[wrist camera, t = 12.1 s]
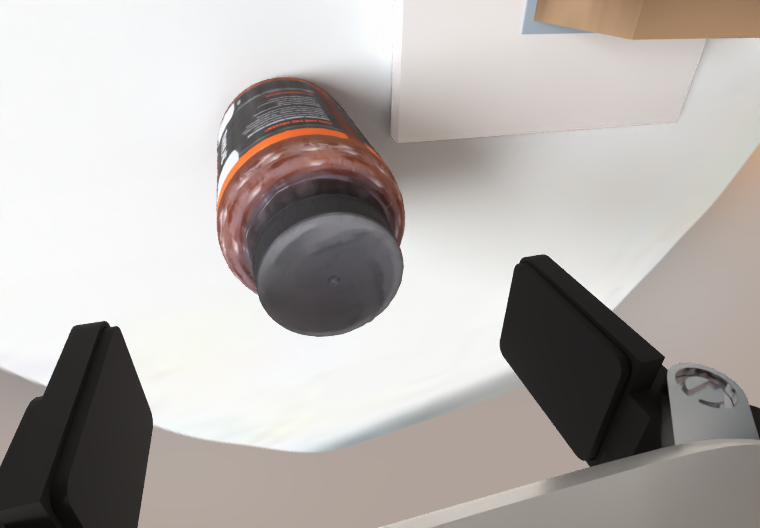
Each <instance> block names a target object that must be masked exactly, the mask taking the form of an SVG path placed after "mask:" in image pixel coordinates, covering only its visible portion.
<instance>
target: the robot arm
mask: <svg viewBox="0 0 760 528" xmlns="http://www.w3.org/2000/svg"><path fill="white" fill-rule="evenodd" d="M500 350H501V353H502V355H503V357H504V358H505V359H506V361H507V362H508V363H509V365H510V366H511V367H512V369H513V370H514V372H515V373H516V374H517V376H518V377H519V378H520V380H521V381H522V382H523V384H524V385H525V387H526V388H527V389H528V391H529V392H530V393H531V395H532V396H533V397H534V399H535V400H536V401H537V403H538V404H539V405H540V407H541V408H542V410H543V411H544V412H545V414H546V415H547V416H548V418H549V419H550V420H551V422H552V423H553V425H554V426H555V427H556V429H557V430H558V431H559V433H560V434H561V435H562V437H563V438H564V439H565V441H566V442H567V444H568V445H569V446H570V448H571V449H572V450H573V452H574V453H575V454H576V456H577V457H578V458H580V459H581V460H585V461H586V462H587V463H588V465H589V466H590V467H589V468H586V469H582V470H578V471H575V472H571V473H568V474H564V475H561V476H557V477H553V478H550V479H546V480H543V481H539V482H536V483H533V484H529V485H525V486H522V487H518V488H514V489H511V490H507V491H504V492H501V493H497V494H493V495H490V496H486V497H483V498H479V499H476V500H472V501H469V502H465V503H462V504H459V505H455V506H452V507H448V508H445V509H441V510H438V511H434V512H431V513H427V514H424V515H420V516H417V517H413V518H410V519H407V520H403V521H400V522H396V523H393V524H389V525H386V526H382V527H379V528H760V408H757V407H755V406H751V405H749V403H748V400H747V397H746V395H745V393H744V392H743V390H742V389H741V388H740V387H739V386H738V384H736V382H734V381H733V380H732V379H730V378H729V377H728V376H726V375H725V374H723V373H721V372H719V371H717V370H715V369H713V368H710V367H707V366H704V365H701V364H695V363H678V364H675V365H672V366H671V367H670V369H668V370H667V369H666V368H665V367H664V366H663V365H662V362H663V360H664V358H665V357H664V356H663V355H662V354H661V353H660V352H658V351H657V350H656V349H655V348H654V347H653V346H651V345H650V344H649V343H648V342H647V341H646V340H644V339H643V338H642V337H641V336H640V335H639V334H638V333H636V332H635V331H634V330H633V329H632V328H631V327H629V326H628V325H627V324H626V323H625V322H624V321H623V320H621V319H620V318H619V317H618V316H617V315H616V314H614V313H613V312H612V311H611V310H610V309H609V308H607V307H606V306H605V305H604V304H603V303H602V302H601V301H599V300H598V299H597V298H596V297H595V296H594V295H592V294H591V293H590V292H589V291H588V290H587V289H585V288H584V287H583V286H582V285H581V284H580V283H579V282H577V281H576V280H575V279H574V278H573V277H572V276H570V275H569V274H568V273H567V272H566V271H565V270H564V269H562V268H561V267H560V266H559V265H558V264H557V263H555V262H554V261H553V260H552V259H551V258H550V257H548V256H547V255H536V256H530V257H524V258H522V259H521V261H520V263H519V264H517V265H516V266H515V268H514V273H513V278H512V283H511V288H510V293H509V298H508V303H507V308H506V313H505V318H504V323H503V328H502V333H501V338H500ZM152 429H153V419H152V413H151V410H150V408H149V405H148V402H147V399H146V397H145V394H144V391H143V389H142V386H141V383H140V381H139V378H138V375H137V373H136V370H135V367H134V365H133V362H132V359H131V357H130V354H129V351H128V349H127V346H126V343H125V340H124V338H123V335H122V332H121V330H120V328H119V327H117V326H115V327H110V325H109V324H108V323H107V322H106V321H102V322H95V323H89V324H82V325H76V326H74V327H73V328H72V330H71V332H70V334H69V337H68V339H67V341H66V344H65V346H64V348H63V351H62V353H61V355H60V358H59V360H58V362H57V365H56V367H55V369H54V372H53V374H52V376H51V379H50V381H49V383H48V386H47V388H46V390H45V393H44V395H43V396H41V397H36V398H35V399H33V400H32V401H31V402H30V404H29V405H28V407H27V409H26V411H25V413H24V416H23V418H22V420H21V422H20V425H19V427H18V429H17V431H16V433H15V436H14V438H13V440H12V442H11V444H10V447H9V449H8V451H7V453H6V455H5V458H4V460H3V462H2V464H1V466H0V528H137V527H138V520H139V514H140V507H141V501H142V494H143V488H144V481H145V475H146V468H147V462H148V455H149V449H150V442H151V436H152Z"/></svg>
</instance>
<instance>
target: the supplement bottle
mask: <svg viewBox="0 0 760 528" xmlns="http://www.w3.org/2000/svg"><path fill="white" fill-rule="evenodd" d="M217 153H218V156H217V163H218V164H217V166H218V167H217V169H218V176H217V231H218V239H219V244H220V247H221V250H222V253H223V256H224V258H225V260H226V262H227V264H228V266H229V268H230V269H231V271H232V272H233V274H234V275H235V276H236V277H237V278H238V279H239V280H240V281H241V282H242V283H243V284H244V285H245V286H246V287H248V288H249V289H251V290H252V291H253V292H254V293H256V294H258V296H259V299H260V302H261V304H262V306H263V308H264V309H265V311H266V312H267V313H268V315H269V316H270V317H271V318H272V319H273V320H274V321H275V322H277V323H278V324H279V325H281V326H283V327H284V328H286V329H288V330H290V331H292V332H295V333H298V334H302V335H308V336H316V337H323V336H334V335H340V334H344V333H347V332H350V331H352V330H354V329H356V328H359V327H361V326H363V325H365V324H366V323H368V322H371V321H372V320H373V319H374V318H375V317H376V316H378V315H379V314H380V313H382V312H383V311H384V310H385V309H386V308H387V307H388V305H389V303H390V302H391V301H392V299H393V298H394V296H395V295H396V293H397V291H398V288H399V286H400V284H401V281H402V274H403V267H404V266H403V257H402V253H401V249H400V247H399V246H400V244H401V240H402V237H403V233H404V226H405V211H404V204H403V198H402V195H401V192H400V190H399V187H398V185H397V183H396V181H395V178H394V177H393V175H392V173H391V171H390V170H389V168H388V167H387V165H386V164H385V163H384V162H383V160H382V159H381V157H380V156H379V154H378V153H377V152H376V151H375V150H374V148H373V147H372V146H371V145H370V143H369V142H368V141H367V139H366V138H365V137H364V136H363V134H362V133H361V132H360V131H359V129H358V128H357V126H356V125H355V124H354V123H353V121H352V120H351V119H350V118H349V116H348V115H347V114H346V113H345V111H344V110H343V109H342V107H341V106H340V105H339V104H338V103H337V102H336V101H335V100H334V99H333V98H332V97H331V96H330V95H329V94H327V93H326V92H325V91H323V90H322V89H320V88H319V87H317V86H315V85H313V84H311V83H309V82H307V81H304V80H300V79H295V78H273V79H267V80H264V81H261V82H258V83H256V84H254V85H251V86H250V87H248V88H247V89H245V90H244V91H243V92H242V93H240V94H239V95H238V96H237V97H236V98H235V99H234V101H233V102H232V103H231V105H230V106H229V107H228V109H227V111H226V112H225V115H224V117H223V119H222V122H221V127H220V130H219V137H218V148H217Z"/></svg>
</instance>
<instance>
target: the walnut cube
mask: <svg viewBox="0 0 760 528" xmlns="http://www.w3.org/2000/svg"><path fill="white" fill-rule="evenodd" d="M534 21H538V22H543V23H548V24H553V25H559V26H564V27H569V28H574V29H579V30H584V31H590V32H595V33H600V34H605V35H610V36H615V37H621V38H626V39H631V40H647V39H704V38H760V0H537V4H536V10H535V16H534Z"/></svg>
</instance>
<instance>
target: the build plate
mask: <svg viewBox="0 0 760 528" xmlns="http://www.w3.org/2000/svg"><path fill="white" fill-rule="evenodd" d="M536 4H537V0H394V31H393V65H392V98H391V131H390V136H391V137H392V138H393V139H394V140H395V141H396V142H397V143H398V144H399V143H412V142H425V141H438V140H452V139H465V138H478V137H491V136H504V135H517V134H530V133H544V132H557V131H570V130H583V129H596V128H609V127H623V126H636V125H649V124H662V123H675V122H677V120H678V117H679V115H680V112H681V109H682V107H683V104H684V101H685V98H686V96H687V93H688V90H689V88H690V85H691V82H692V79H693V77H694V74H695V71H696V69H697V66H698V63H699V60H700V58H701V55H702V52H703V50H704V47H705V44H706V41H707V39H708V38H704V39H647V40H631V39H626V38H621V37H615V36H610V35H605V34H600V33H595V32H590V31H584V30H579V29H574V28H569V27H564V26H559V25H553V24H548V23H543V22H538V21H534V16H535V10H536Z"/></svg>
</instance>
